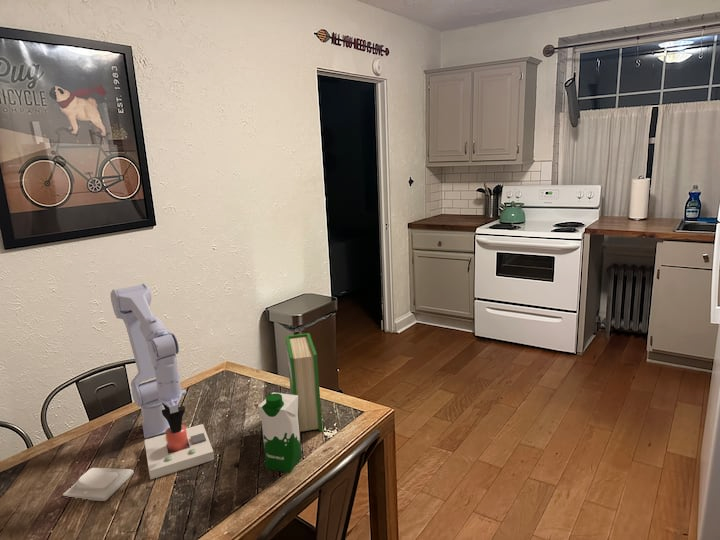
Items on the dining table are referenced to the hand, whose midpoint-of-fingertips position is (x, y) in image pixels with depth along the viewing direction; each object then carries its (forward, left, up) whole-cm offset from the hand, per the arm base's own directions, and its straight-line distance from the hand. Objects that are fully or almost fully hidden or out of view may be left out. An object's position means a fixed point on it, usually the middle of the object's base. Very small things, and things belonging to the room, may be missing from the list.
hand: (174, 425), depth 133 cm
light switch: (+3, -20, -10) cm, 22 cm away
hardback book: (+1, +37, -9) cm, 38 cm away
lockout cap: (0, 0, -6) cm, 6 cm away
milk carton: (+19, +24, -9) cm, 32 cm away
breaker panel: (0, 0, -9) cm, 9 cm away
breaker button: (0, 0, -9) cm, 9 cm away
